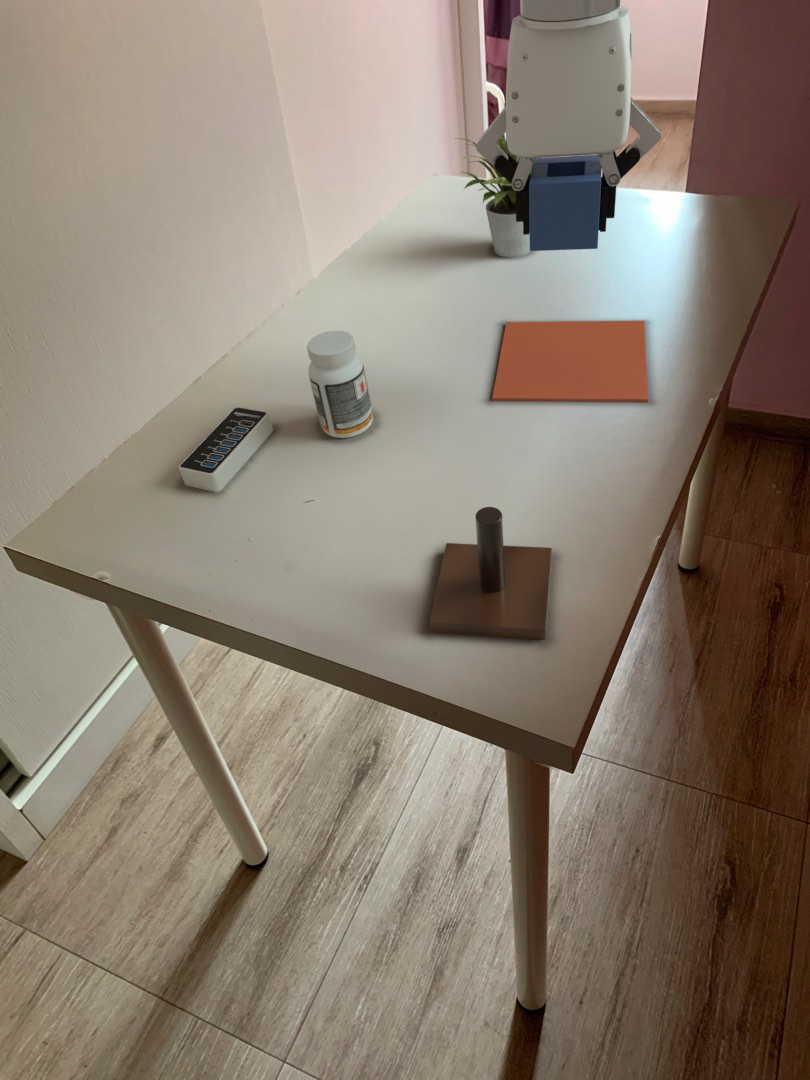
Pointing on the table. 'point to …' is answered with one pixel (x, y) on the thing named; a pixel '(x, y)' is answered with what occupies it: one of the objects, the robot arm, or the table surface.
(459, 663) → the table surface
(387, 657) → the table surface
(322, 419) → the pill bottle
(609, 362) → the mat
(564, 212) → the blue block
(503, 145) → the house plant
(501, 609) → the dowel stand
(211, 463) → the multiport hub
